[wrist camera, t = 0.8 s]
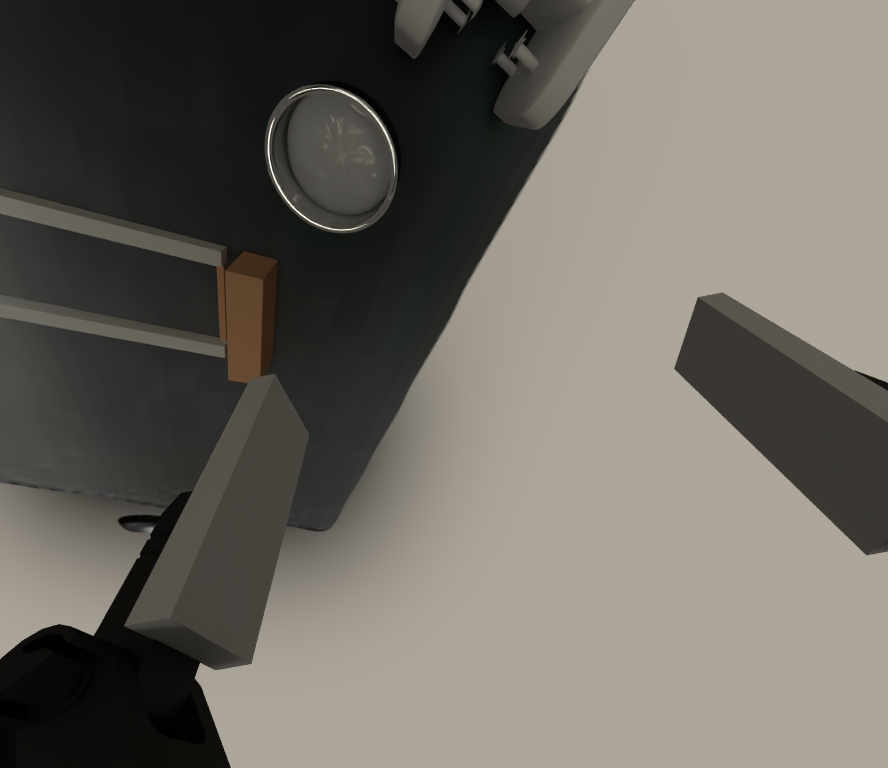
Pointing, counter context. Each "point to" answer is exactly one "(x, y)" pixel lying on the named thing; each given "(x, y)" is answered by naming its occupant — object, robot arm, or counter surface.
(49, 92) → the counter surface
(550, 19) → the cable organizer
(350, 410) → the counter surface
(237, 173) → the counter surface
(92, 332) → the channel
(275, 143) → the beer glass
